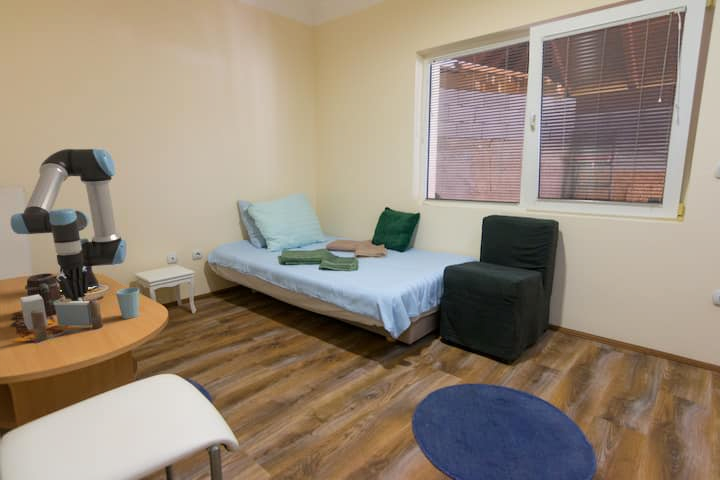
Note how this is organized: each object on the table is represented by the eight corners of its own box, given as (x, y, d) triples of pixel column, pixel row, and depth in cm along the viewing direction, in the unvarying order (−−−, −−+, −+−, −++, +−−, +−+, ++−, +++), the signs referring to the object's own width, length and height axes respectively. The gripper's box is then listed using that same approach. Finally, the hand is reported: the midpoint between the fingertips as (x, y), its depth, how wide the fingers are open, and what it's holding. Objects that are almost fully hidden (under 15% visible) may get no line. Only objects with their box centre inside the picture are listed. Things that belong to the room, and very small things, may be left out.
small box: (48, 325, 142) (43, 298, 140) (28, 330, 138) (23, 302, 136) (43, 320, 147) (39, 293, 145) (24, 324, 143) (19, 297, 141)
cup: (140, 318, 149) (137, 292, 147) (117, 321, 146) (114, 295, 144) (142, 311, 156) (139, 286, 154) (120, 314, 153) (117, 289, 151)
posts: (102, 325, 143) (98, 299, 141) (102, 327, 140) (99, 301, 138) (36, 338, 132) (31, 310, 130) (35, 341, 129) (30, 313, 127)
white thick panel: (93, 324, 141) (89, 301, 139) (90, 325, 140) (86, 302, 138) (60, 324, 141) (56, 301, 139) (57, 325, 140) (53, 302, 138)
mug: (25, 312, 155) (19, 276, 152) (63, 304, 164) (57, 270, 161) (30, 323, 144) (23, 284, 141) (70, 314, 153) (64, 278, 150)
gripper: (75, 248, 145) (85, 307, 150) (43, 256, 133) (55, 321, 138) (93, 248, 144) (102, 308, 149) (63, 257, 132) (74, 322, 137)
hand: (80, 314), depth 144 cm, fingers closed
